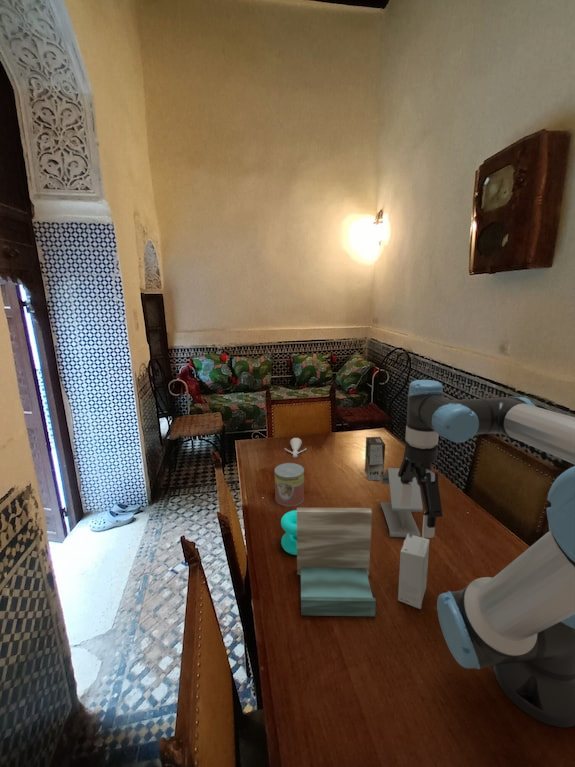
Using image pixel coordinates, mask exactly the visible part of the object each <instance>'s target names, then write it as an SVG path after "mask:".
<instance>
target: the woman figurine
mask: <svg viewBox="0 0 575 767" xmlns="http://www.w3.org/2000/svg"><path fill="white" fill-rule="evenodd" d="M289 443H290V447H291V449H292V451H291V450H288V449H287V448H286V447H284V450H285V451H287V452H288V453H291V455H292V458H294V459H296V458H297V459H298V455H300V453H302V452H305V451H307V450H308V449H307V447H305V448H304V449H302V450H300V449H301V447H302V444H303V442H302V439H301V438H299V437H293V438H292V439H290V441H289ZM299 450H300V451H299Z"/></svg>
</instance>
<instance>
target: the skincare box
mask: <svg viewBox="0 0 575 767" xmlns="http://www.w3.org/2000/svg"><path fill="white" fill-rule="evenodd" d="M429 551H430V538H423V537H422V536H420V537H418V536H414V535H411V534H407V536H406V537H405V539H404V540H403V544H402V547H401V550H400V551H399V552H400V555H399V556H400V558H399V570H398V572H399V574H398V591H397V592H398V593H397V601H399V602H401V603H404V604H405V605H409V606H411V607H413V608H416V609H419V610H421V609H422V606H423V605H422V604H423V600H424V595H425V593H426V590H427V585H428V584H427V583H428V582H427V580H428V566H429Z"/></svg>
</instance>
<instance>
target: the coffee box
mask: <svg viewBox="0 0 575 767" xmlns="http://www.w3.org/2000/svg"><path fill="white" fill-rule="evenodd" d="M385 456H386V444H385V441H384V440H383V439H382V438H381V436H371V437H370V436H366V437H365V455H364V457H365V459H364V472H365V475H366V477H367V479H368V481H381V479H382V477H383V476H384V474H385V472H384V471H385Z"/></svg>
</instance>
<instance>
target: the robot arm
mask: <svg viewBox="0 0 575 767" xmlns="http://www.w3.org/2000/svg"><path fill="white" fill-rule="evenodd" d="M443 388H444V386H443V384H442V383H441V382H440V381H438V380H430V379H416V380H413V381H411V382H410V384H409V387H408V395H407V412H406V426H405V427H406V428H405V444H404V453H403V459H402V462H401V465H400V470H399V473H398V476H399V477H401V483H402V484H401V500H400V505H401V506H411V495H412V484H411V483H409V482H413V480H412V479H413V478H414V477H415V478H416V479H417V484H418V485H419V486H420V492H421V498H422V502H423V505H424V506H423V507H424V509H425V511H423V513H422V514H423V517H422V518H423V520H422V527H421V528H422V530H421V531H422V532H421V537H422V538H426V539H430V538H431V539H432V538H435V531H436V521H437V518H442V517H443V508H442V502H441V494H440V486H439V474H438V472H437V471H434V472H433V471H432V466H431V465H432V464H433V463H435V462H436V461H437V459H438V452H439V451H438V450H439V447H438V444H439V436H441V437H442V438H445V439H446V440H448V441H450V442H452V443H456V444H458V443H459V444H462V443H466V442H467V441H469V440H470V439H473V438H474V437H475V436H476V435H486V434H487V435H488V434H489V435H491V434H500V435H501V434H502V435H503V436H506V437H509V438H511V439H513V440H517V441H519V442H522V443H523V444H526V445H528V446H531V447H533V448H535V449H538V450H540V451H543V452H544V453H547V454H549V455H552V456H554V457H556V458H559V459H561V460H563V461H566V462H568V463H570V464H573V465H574V466H571V467H570V468H568V469H566V470H564V471H563V472H561V474H560V475H559V476H557V477H556V478H555V480H554V481H553V483H552V485H551V486H550V489H549V491H548V494H547V501H548V502H549V503H550V506H548V507H547V508H546V510H545V511H546V517H547V521H548V532H546V533H545V534H544V535H542V537H540V538H539V539H538V540H537V541H535V542H534V543H533V544H532V545H530V547H528V548H527V549H526V550H525V551H524V552H522V553H520V555H518V557H516V558H515V559H513V560H512V561H511V562H510V563H509V564H507V566H506V567H504V568H503V569H502V570H501V571H500V572H498V573H497V574H496V575H494V577H492V576H491V577H490V576H486V577H485V576H484V577H483V576H482V577H480V578H479V577H478V578H475V579H474V580H473V581H471V582H469V583H468V584H467V586H465V587H464V588H463V589H460V590H456V591H451V590H448V591H447V592H442V593H440V594H439V595H438V597H437V601H436V610H437V616H438V621H439V622H438V623H439V625H440V629H441V632H442V635H443V637H444V640H445V643H446V644H447V648H448V649H449V651H450V653H451V654H452V656H453V658H454V660H455V661H456V662H457V663H458V665H460V666H461V667H462V668H464V669H477V670H480V669H482V668H489V667H492V669H493V673H494V677H495V679H496V681H497V683H498V685H499V687H500V688H501V690H502V691H503V693H504V694H505V696H507V698H509V700H510V701H511V702H512V704H514V705H515V706H516V707H518V708H519V709H520V710H521V711H522V712H524V713H525V714H527V715H528V716H530V717H531V718H533V719H535V720H536V721H539V722H541V723H543V724H546V725H548V726H552V727H557V728H572V727H574V726H575V417H574V416H571V415H567V414H564V413H560V412H556V411H554V410H549V409H545V408H542V407H538V406H536V404H535V403H533V402H532V401H531V399H529V398H527V397H523V396H520V397H518V396H505V397H492V398H491V397H490V398H469V399H466V398H465V399H450V398H448V397H445V396H444V395H443V394H444V390H443Z"/></svg>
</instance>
